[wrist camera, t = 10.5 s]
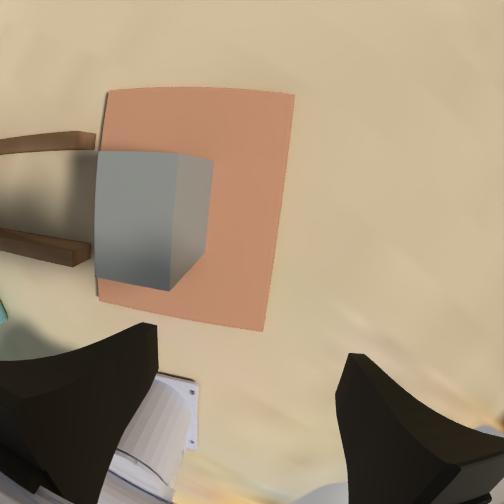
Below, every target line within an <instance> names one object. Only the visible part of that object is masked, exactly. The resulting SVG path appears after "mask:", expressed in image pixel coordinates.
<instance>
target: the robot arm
mask: <svg viewBox="0 0 504 504" xmlns="http://www.w3.org/2000/svg"><path fill="white" fill-rule="evenodd" d="M158 369H159V365H158V339H157V325H153V324H148V323H144V322H142V323H139V324H137V325H134V326H132V327H130V328H128V329H125V330H123V331H121V332H119V333H117V334H114V335H112V336H110V337H108V338H106V339H103V340H101V341H98V342H96V343H93V344H91V345H88V346H86V347H83V348H80V349H77V350H74V351H71V352H67V353H63V354H59V355H55V356H50V357H44V358H38V359H31V360H19V361H0V504H176V503H174V502H172V499H173V496H174V493H175V490H173V486H174V484H175V481H176V478H177V475H178V472H179V469H180V466H181V463H182V460H183V457H184V454H185V451H186V449H190V450H196V449H197V435H198V388H199V387H198V384H197V383H196V382H194V381H189V380H185V379H180V378H175V377H171V376H167V375H163V374H158V373H157V371H158ZM190 390H193V391H194V392H192V391H190ZM335 400H336V415H337V420H338V425H339V430H340V435H341V439H342V444H343V449H344V454H345V458H346V464H347V472H348V489H349V490H348V491H349V504H488V503H490V502H491V500H492V497H491V495H490V493H489V492H490V491H491V490H492V489H493V488H494V487H495V486H496V485H497V484H498V483H499V482H500V480H502V478H503V477H504V438H502V437H498V436H494V435H490V434H486V433H482V432H479V431H477V430H474V429H471V428H468V427H466V426H463V425H461V424H459V423H456V422H454V421H452V420H450V419H448V418H446V417H444V416H442V415H441V414H439V413H437V412H435V411H434V410H432V409H431V408H429V407H427V406H426V405H424V404H423V403H421V402H420V401H418V400H417V399H416V398H414V397H413V396H412V395H411V394H409V393H408V392H407V391H405V390H404V389H403V388H402V387H401V386H399V385H398V384H397V383H396V382H395V381H394V380H393V379H391V378H390V377H389V376H388V375H387V374H386V373H385V372H384V371H383V370H382V369H381V368H380V367H378V366H377V365H376V364H375V363H374V362H373V361H372V360H371V359H370V358H368V357H367V356H366V355H365V354H356V353H349V354H348V358H347V361H346V364H345V367H344V370H343V373H342V376H341V379H340V382H339V385H338V387H337V390H336V393H335ZM500 504H504V502H502V503H500Z"/></svg>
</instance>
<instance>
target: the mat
mask: <svg viewBox="0 0 504 504" xmlns="http://www.w3.org/2000/svg"><path fill="white" fill-rule="evenodd" d="M294 99H295V95H293V94H285V93H277V92H268V91H258V90H246V89H232V88H210V87H157V88H136V89H122V90H110V91H109V94H108V100H107V106H106V112H105V119H104V126H103V134H102V142H101V151H134V152H162V153H179V154H185V155H190V156H195V157H200V158H204V159H209V160H214V168H213V177H212V186H211V195H210V205H209V215H208V226H207V237H206V249H205V253H204V255H203V256H202V257H201V258H200V259H199V260H198V261H197V262H196V263H195V264H194V265H193V266H192V268H191V269H190V270H189V271H188V272H187V273H186V274H185V275H184V276H183V277H182V278H181V280H180V281H179V282H178V283H177V284H176V285H175V286H174V287H173V288H172V289H171V291H170V292H169V291H164V290H158V289H153V288H148V287H142V286H137V285H132V284H127V283H122V282H117V281H112V280H108V279H103V278H98V277H97V278H98V295H99V301H102V302H107V303H111V304H115V305H119V306H124V307H128V308H132V309H137V310H142V311H146V312H151V313H156V314H161V315H166V316H171V317H176V318H181V319H186V320H192V321H197V322H203V323H209V324H215V325H221V326H227V327H233V328H240V329H246V330H253V331H260V332H263V328H264V322H265V315H266V309H267V302H268V296H269V289H270V282H271V275H272V268H273V262H274V255H275V248H276V240H277V233H278V226H279V219H280V211H281V204H282V196H283V189H284V181H285V173H286V165H287V157H288V149H289V141H290V133H291V125H292V116H293V107H294Z"/></svg>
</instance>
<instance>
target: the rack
mask: <svg viewBox="0 0 504 504" xmlns="http://www.w3.org/2000/svg"><path fill="white" fill-rule="evenodd" d="M95 139H96V134H94V133H87V132H81V131H69V132H57V133H47V134H37V135H29V136H21V137H14V138H7V139H1V140H0V155H3V154H13V153H25V152H40V151H59V150H94V148H95ZM0 250H2V251H6V252H9V253H13V254H17V255H22V256H26V257H30V258H34V259H38V260H43V261H47V262H51V263H56V264H60V265H65V266H69V267H74V266H76V265H78V264H80V263H82V262H84V261H86V260H88V259H90V258H91V251H90V243H85V242H79V241H72V240H66V239H60V238H54V237H48V236H43V235H37V234H31V233H25V232H19V231H14V230H8V229H2V228H0Z"/></svg>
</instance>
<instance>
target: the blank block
mask: <svg viewBox="0 0 504 504" xmlns="http://www.w3.org/2000/svg"><path fill="white" fill-rule="evenodd" d="M213 168H214V160H209V159H204V158H200V157H195V156H190V155H185V154H179V153H162V152H134V151H98V162H97V174H96V190H95V218H94V251H95V277H98V278H103V279H108V280H112V281H117V282H122V283H127V284H132V285H137V286H142V287H148V288H153V289H158V290H164V291H169V292H170V291H171V289H172V288H173V287H174V286H175V285H176V284H177V283H178V282H179V281H180V280H181V278H182V277H183V276H184V275H185V274H186V273H187V272H188V271H189V270H190V269H191V268H192V266H193V265H194V264H195V263H196V262H197V261H198V260H199V259H200V258H201V257H202V256H203V255H204V253H205V249H206V237H207V226H208V215H209V205H210V195H211V186H212V177H213Z"/></svg>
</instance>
